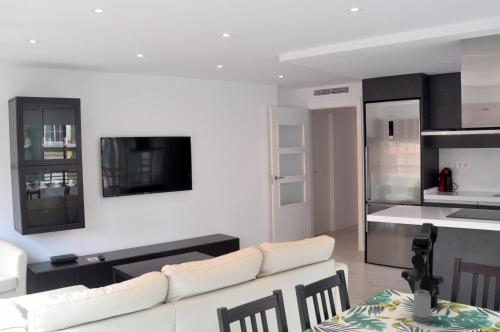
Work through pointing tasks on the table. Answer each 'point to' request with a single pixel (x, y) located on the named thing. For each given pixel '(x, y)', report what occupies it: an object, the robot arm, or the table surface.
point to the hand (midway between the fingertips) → (422, 295)
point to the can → (422, 304)
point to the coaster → (422, 319)
